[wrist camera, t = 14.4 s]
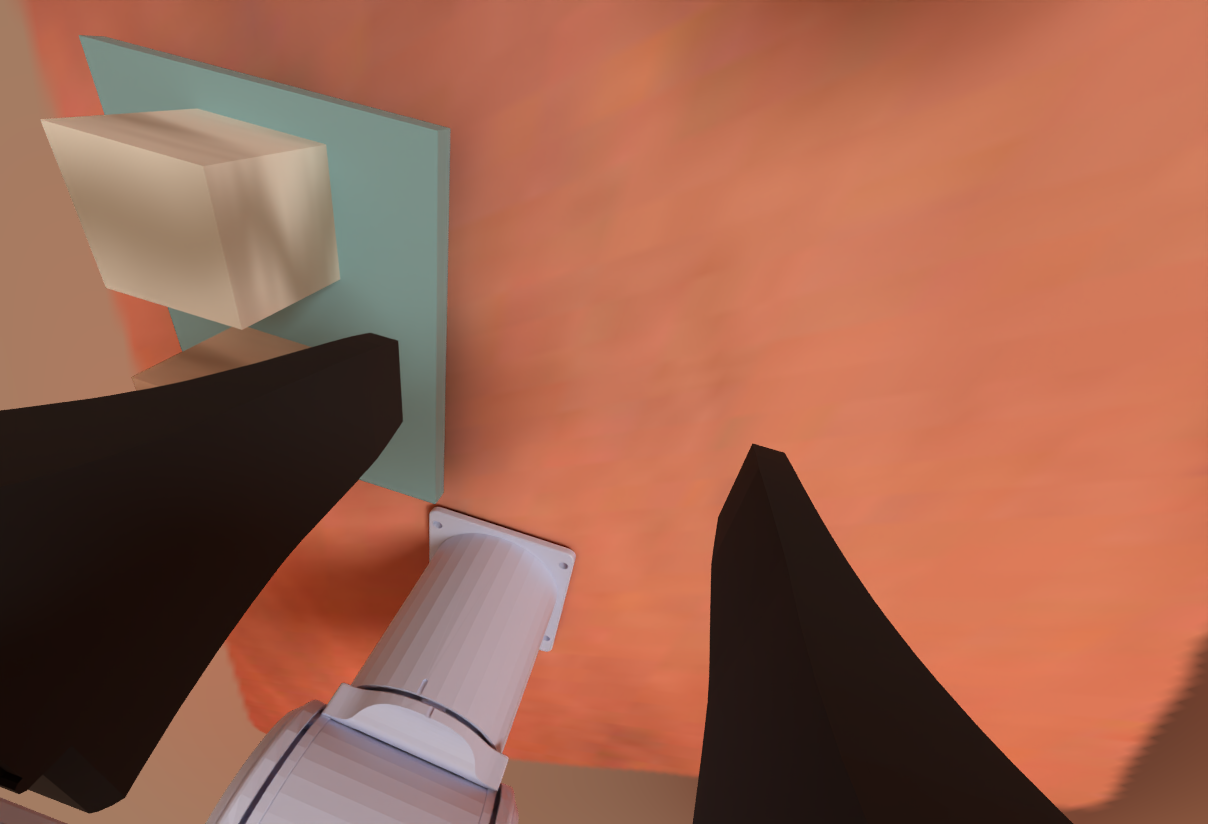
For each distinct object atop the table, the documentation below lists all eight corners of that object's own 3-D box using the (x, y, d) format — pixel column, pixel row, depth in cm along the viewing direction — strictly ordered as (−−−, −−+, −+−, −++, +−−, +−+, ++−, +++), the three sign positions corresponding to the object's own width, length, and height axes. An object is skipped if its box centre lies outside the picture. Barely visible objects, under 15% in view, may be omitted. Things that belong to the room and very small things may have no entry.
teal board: (452, 479, 26) (435, 504, 24) (237, 411, 27) (208, 430, 25) (464, 125, 17) (437, 130, 15) (134, 37, 17) (78, 35, 16)
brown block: (348, 440, 23) (274, 508, 20) (258, 410, 24) (169, 472, 20) (339, 355, 21) (251, 416, 17) (238, 323, 21) (131, 377, 17)
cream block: (340, 279, 19) (242, 329, 15) (228, 246, 19) (106, 287, 15) (326, 144, 16) (203, 165, 12) (197, 108, 16) (40, 119, 13)
